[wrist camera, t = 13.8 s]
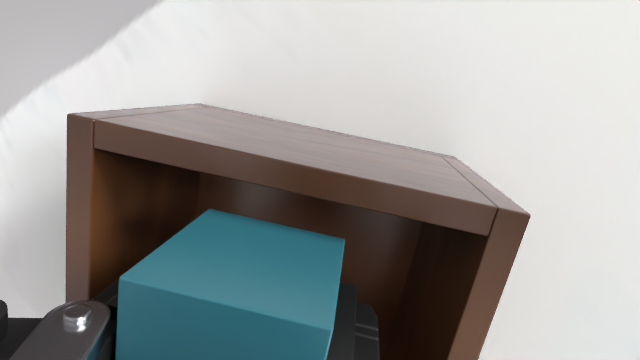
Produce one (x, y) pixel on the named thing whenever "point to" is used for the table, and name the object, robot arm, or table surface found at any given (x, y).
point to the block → (231, 293)
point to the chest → (298, 212)
